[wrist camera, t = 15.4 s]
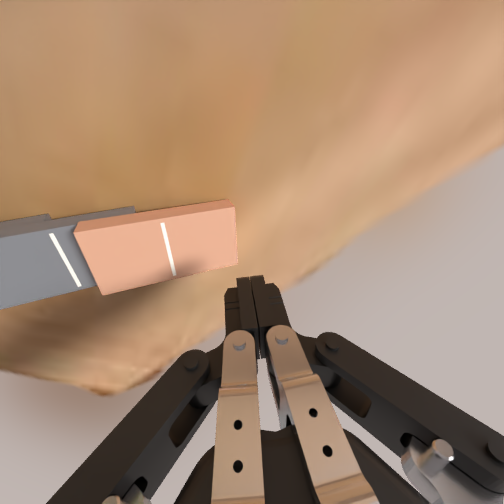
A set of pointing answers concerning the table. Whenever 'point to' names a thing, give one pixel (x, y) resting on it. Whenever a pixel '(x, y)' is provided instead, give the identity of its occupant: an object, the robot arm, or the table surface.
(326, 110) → the table surface
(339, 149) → the table surface
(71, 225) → the domino
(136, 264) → the domino
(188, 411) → the robot arm
